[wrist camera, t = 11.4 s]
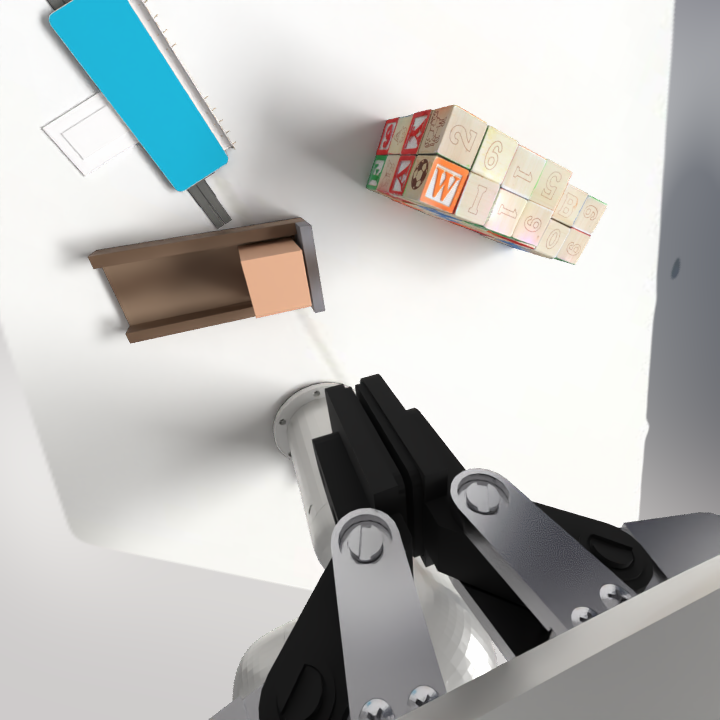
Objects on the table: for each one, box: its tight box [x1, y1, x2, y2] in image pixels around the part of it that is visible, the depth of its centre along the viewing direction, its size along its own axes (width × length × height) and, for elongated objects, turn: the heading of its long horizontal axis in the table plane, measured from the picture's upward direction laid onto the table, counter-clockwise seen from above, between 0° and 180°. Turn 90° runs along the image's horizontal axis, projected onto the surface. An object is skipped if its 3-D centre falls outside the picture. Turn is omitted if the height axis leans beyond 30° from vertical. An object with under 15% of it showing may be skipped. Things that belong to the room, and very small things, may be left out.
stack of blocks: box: [366, 105, 607, 265], centre depth 34 cm, size 21×6×12 cm, turn 70°
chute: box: [88, 217, 325, 343], centre depth 33 cm, size 8×18×5 cm, turn 96°
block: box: [238, 237, 312, 318], centre depth 33 cm, size 5×5×6 cm
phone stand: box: [43, 0, 235, 229], centre depth 27 cm, size 20×12×2 cm, turn 28°
